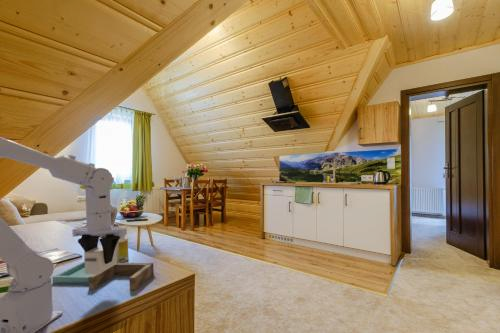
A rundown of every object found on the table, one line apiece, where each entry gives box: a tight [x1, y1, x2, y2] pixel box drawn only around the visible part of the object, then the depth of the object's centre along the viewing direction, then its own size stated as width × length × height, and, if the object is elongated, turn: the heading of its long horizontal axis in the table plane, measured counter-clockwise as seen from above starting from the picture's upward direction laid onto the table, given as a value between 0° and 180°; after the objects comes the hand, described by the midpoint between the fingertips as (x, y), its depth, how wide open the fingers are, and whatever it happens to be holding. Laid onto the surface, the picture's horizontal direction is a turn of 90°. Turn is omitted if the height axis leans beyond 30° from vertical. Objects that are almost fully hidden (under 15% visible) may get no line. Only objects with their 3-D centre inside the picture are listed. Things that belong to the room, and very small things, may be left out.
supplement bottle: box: [116, 235, 129, 263], centre depth 93 cm, size 6×6×10 cm
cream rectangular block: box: [83, 245, 117, 274], centre depth 68 cm, size 8×4×6 cm, turn 173°
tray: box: [51, 261, 119, 285], centre depth 82 cm, size 13×13×2 cm
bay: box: [88, 262, 155, 291], centre depth 76 cm, size 10×14×4 cm
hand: (100, 262), depth 68 cm, fingers closed on cream rectangular block, 4 cm apart
